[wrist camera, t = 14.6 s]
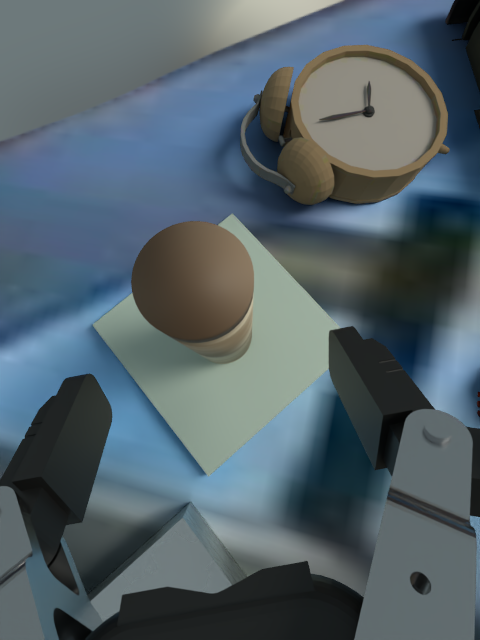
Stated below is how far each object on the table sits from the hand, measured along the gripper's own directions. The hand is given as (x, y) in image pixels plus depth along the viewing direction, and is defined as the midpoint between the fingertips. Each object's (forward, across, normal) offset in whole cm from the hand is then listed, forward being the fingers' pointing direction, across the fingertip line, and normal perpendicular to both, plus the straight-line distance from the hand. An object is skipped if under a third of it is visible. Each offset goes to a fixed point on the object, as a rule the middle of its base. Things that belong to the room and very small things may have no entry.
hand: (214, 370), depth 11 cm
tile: (+10, 0, +6) cm, 12 cm away
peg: (+10, 0, +6) cm, 11 cm away
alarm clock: (+20, -11, -3) cm, 23 cm away
